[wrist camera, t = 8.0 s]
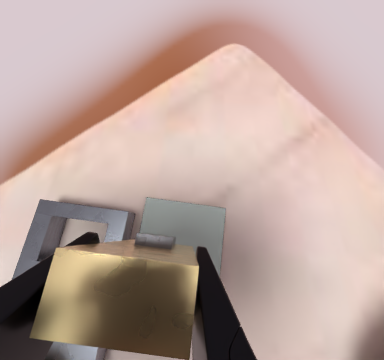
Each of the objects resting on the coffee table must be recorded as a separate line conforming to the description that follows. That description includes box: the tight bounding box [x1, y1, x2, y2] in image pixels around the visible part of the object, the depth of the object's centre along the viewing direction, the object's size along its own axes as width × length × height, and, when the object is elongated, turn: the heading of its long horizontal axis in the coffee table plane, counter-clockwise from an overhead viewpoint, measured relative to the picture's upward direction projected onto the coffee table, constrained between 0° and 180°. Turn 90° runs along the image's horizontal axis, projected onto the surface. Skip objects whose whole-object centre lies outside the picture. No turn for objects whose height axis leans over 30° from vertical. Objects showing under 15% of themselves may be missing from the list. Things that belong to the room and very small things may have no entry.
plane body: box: [12, 199, 135, 360], centre depth 17 cm, size 18×9×6 cm, turn 172°
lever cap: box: [29, 233, 199, 360], centre depth 10 cm, size 3×4×10 cm, turn 83°
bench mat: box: [139, 197, 226, 277], centre depth 20 cm, size 11×9×1 cm
